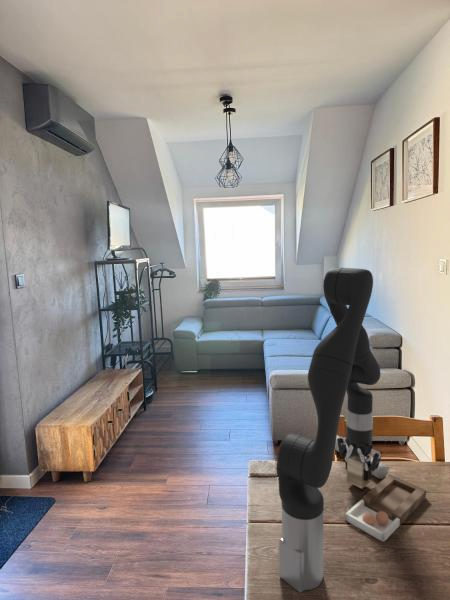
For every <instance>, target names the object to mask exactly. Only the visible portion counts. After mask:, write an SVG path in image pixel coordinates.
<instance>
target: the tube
mask: <svg viewBox="0 0 450 600" xmlns="http://www.w3.org/2000/svg"><path fill="white" fill-rule="evenodd" d="M340 437H341V436H339V435H338V434H337V437H336V443H335V450H334V451H337V452H339V448H338V442H337V439H338V438H340ZM346 448H347V452H348V449H349V448H348V446H347V444H346ZM372 460H373V458H372V456H371V462H372ZM388 475H389V470H388V467H387V465H385V464H384V463H382V462H381V461H380V463H379V466H378V468H377V469H375V470H374V471H371V476H373V477H374V478H375V477H376V478H377V479H380V480H383V479H385V478H386V477H387V476H388Z"/></svg>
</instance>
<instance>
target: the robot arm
mask: <svg viewBox="0 0 450 600" xmlns="http://www.w3.org/2000/svg"><path fill="white" fill-rule="evenodd" d="M324 275H325V276H324V279H323V285H322V287H323V289H322V290H323V295H324V298H325V302H326V304H327V306H328V308H329V311H330V313H331V316H332V318H333V321H334V322H335V325H336V327H334V328H333V329H332V330H331V331H330V332H329V333H328V334H327V335H325V337H324V338H323V339H322V340H321V341H320V342H318V344H317V345H316V347H315V349H314V350H313V353H312V357H311V361H310V363H309V364H310V365H309V368H308V372H307V382H308V387H309V389H310V393H311V397H312V399H313V403H314V405H315V409H316V415H317V430H316V431H317V433H316V437H315V439H313V438H309V437H307V436H303V435H301V434H297V433H288V434H286V435H285V436H284V437H283V438H282V440H281V442H280V443H279V447H278V450H277V451H278V452H277V459H276V460H277V463H276V466H277V479H278V494H279V497H280V501H281V538H279V540H278V541H279V543H278V547H279V548H278V551H279V552H278V554H279V557H278V558H279V566H278V567H279V577H280V578H281V579H283V580H284V581H285V582H286V583H287V584H288V585H289V586H291V587H292V588H293V589H295V590H296V592H298V593H300V594H301V593H302V592H304V591H310V590H313V589H317V588H318V587H319V586H320V585H321V583H322V582H323V579H324V520H325V519H324V513H325V512H324V511H325V506H324V504H325V501H324V496H323V493H322V492H321V490H320V488H323V486H325V484H326V483H327V481H328V479H329V476H330V473H331V471H332V466H333V460H334V456H335V455H334V454H335V451H336V450H335V443H336V437H337V435H338V429H339V423H340V418H341V414H342V409H343V404H344V400H345V397H346V394H347V410H346V418H345V419H346V421H345V422H346V424H345V425H346V426H345V429H346V430H345V436H346V437H345V436H344V435H341V436H339V437H340V438H338V439H337V442H338V448H339V453H338V454H339V457H340V458H343V459H344V460H345V470H346V471H347V457H351V456H352V455H356V456H358V457H359V458H361V462H362V463H364V468H365V469H364V481H368V480H369V479H370V480H371V479H372V474H371V471H374V470H375V469H377V468H378V466H379V463H380V462H381V459H382V456H383V453H382V451H381V450H376V449H374V447H373V433H374V432H373V426H374V417H373V404H374V403H373V402H374V401H373V399H374V398H373V394H372V392H371V391H369V390H368V389H365V388H363V387H361V386H360V385H359V384H362V385H367V386H373V385H375V384H378V382H379V380H380V379H381V368H380V365H379V363H378V361H377V359H376V357H375V356H374V354H373V352H372V350H371V346H370V338H369V334H368V332H367V330H366V329H365V327H364V326H363V323H364V320H365V317H366V313H367V309H368V307H369V303H370V301H371V297H372V293H373V288H374V276H373V273H372V272H371V271H370V270H369V269H365V268H355V267H354V268H353V267H331V268H329V269H328V270H327V271H326V273H325V274H324ZM346 444H347V446H348V448H349V449H348V452H347V448H346ZM365 457H366V458H365ZM371 457H372V458H373V460H372V462H371Z"/></svg>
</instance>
